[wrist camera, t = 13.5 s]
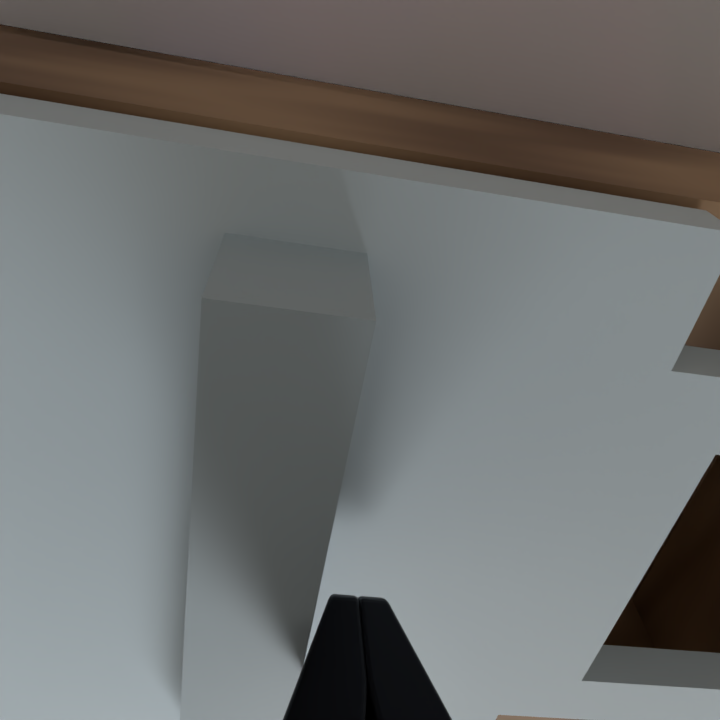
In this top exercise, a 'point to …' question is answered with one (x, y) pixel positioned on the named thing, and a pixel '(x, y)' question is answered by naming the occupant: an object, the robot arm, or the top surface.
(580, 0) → the top surface
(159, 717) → the lid
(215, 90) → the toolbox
